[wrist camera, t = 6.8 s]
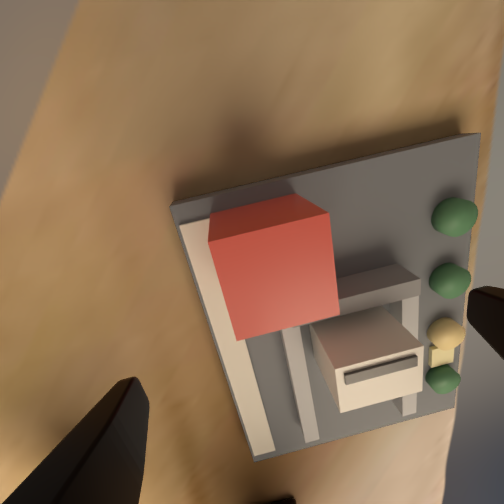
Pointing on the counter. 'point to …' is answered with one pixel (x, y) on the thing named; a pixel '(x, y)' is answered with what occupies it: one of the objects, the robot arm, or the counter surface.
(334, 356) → the panel
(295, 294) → the cap
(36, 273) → the counter surface
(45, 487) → the robot arm
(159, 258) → the counter surface
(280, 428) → the breaker panel
